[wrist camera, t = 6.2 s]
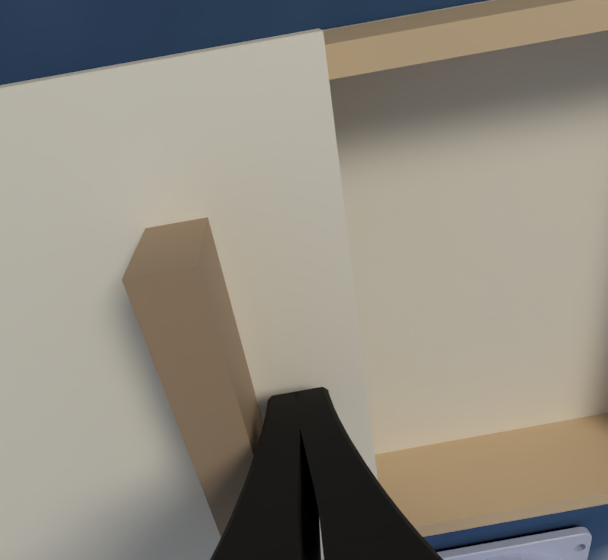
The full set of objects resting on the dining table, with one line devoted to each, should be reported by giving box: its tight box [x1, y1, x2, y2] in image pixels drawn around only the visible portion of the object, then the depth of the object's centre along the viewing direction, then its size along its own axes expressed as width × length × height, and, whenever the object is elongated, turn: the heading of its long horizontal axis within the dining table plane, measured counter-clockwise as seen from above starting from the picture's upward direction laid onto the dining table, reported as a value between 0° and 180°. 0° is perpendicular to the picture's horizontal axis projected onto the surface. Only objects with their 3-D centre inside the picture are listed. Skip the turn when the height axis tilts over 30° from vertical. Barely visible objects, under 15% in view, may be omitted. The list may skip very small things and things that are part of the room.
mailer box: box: [323, 0, 608, 537], centre depth 14 cm, size 15×20×4 cm
